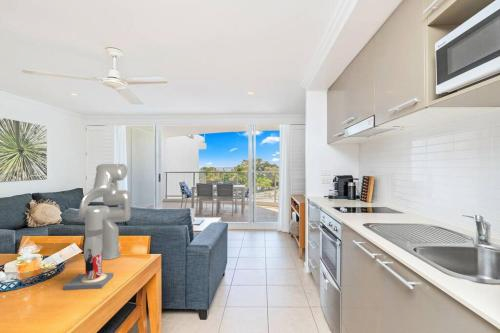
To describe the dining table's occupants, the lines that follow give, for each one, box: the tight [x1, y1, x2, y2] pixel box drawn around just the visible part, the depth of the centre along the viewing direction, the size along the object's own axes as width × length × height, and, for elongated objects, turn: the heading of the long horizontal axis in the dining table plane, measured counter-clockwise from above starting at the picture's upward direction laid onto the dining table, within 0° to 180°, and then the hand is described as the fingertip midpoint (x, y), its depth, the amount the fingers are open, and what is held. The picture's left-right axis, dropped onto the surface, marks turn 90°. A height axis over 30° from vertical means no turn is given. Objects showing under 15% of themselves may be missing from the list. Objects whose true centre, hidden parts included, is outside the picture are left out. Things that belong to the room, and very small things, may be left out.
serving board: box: [63, 272, 114, 291], centre depth 134 cm, size 14×17×3 cm
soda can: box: [84, 253, 103, 280], centre depth 134 cm, size 7×7×12 cm
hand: (94, 267), depth 134 cm, fingers open, 9 cm apart
